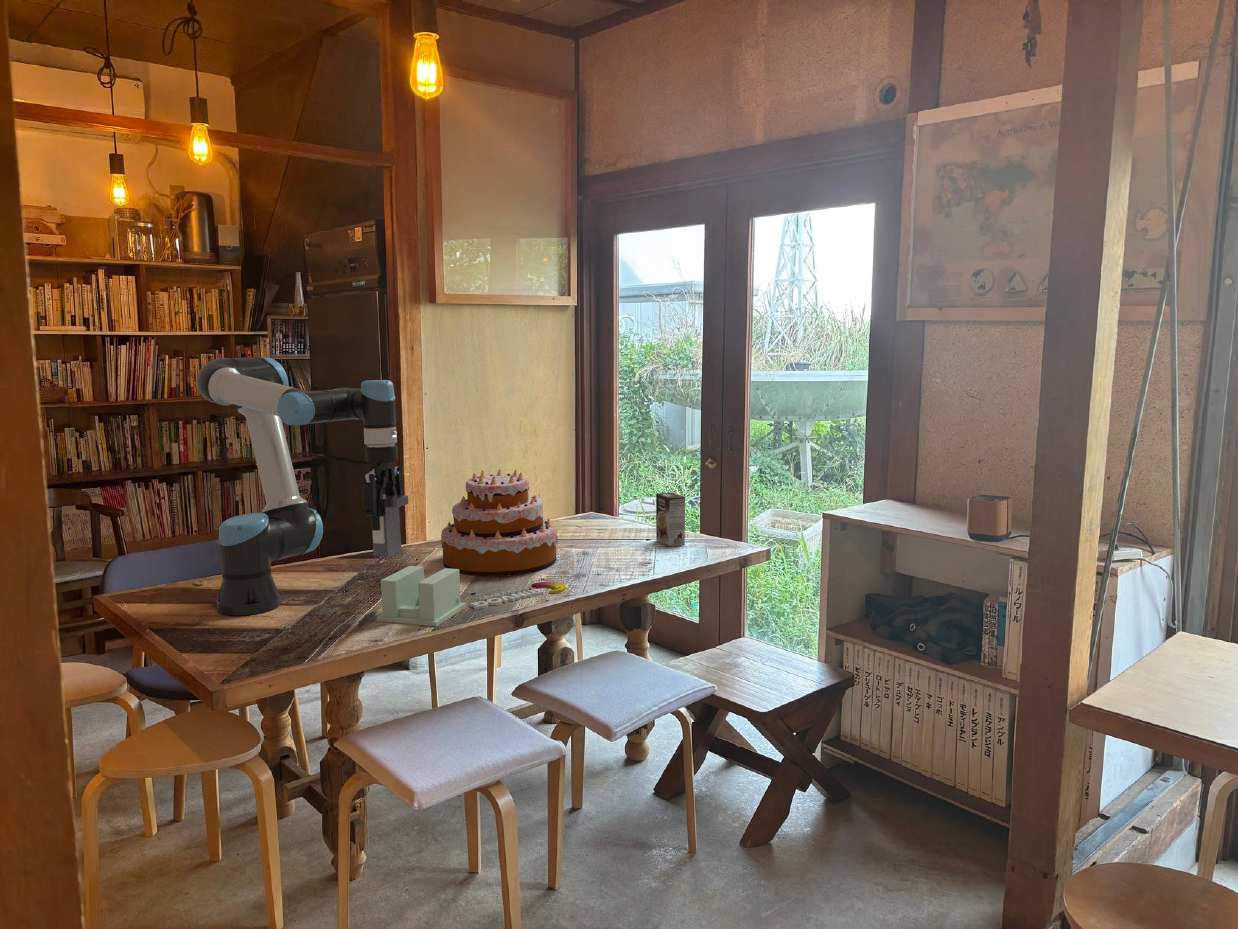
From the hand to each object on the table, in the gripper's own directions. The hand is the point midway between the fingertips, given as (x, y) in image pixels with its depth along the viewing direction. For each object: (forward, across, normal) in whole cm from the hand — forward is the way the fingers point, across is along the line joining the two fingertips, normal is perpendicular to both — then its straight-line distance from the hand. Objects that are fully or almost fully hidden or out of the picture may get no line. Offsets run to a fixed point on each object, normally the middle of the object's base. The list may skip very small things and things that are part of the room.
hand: (386, 539), depth 218 cm
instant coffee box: (+20, +96, -46) cm, 108 cm away
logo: (+20, +26, -22) cm, 39 cm away
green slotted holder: (+20, +5, -6) cm, 21 cm away
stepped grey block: (+3, 0, -2) cm, 4 cm away
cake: (+20, +58, -2) cm, 61 cm away
